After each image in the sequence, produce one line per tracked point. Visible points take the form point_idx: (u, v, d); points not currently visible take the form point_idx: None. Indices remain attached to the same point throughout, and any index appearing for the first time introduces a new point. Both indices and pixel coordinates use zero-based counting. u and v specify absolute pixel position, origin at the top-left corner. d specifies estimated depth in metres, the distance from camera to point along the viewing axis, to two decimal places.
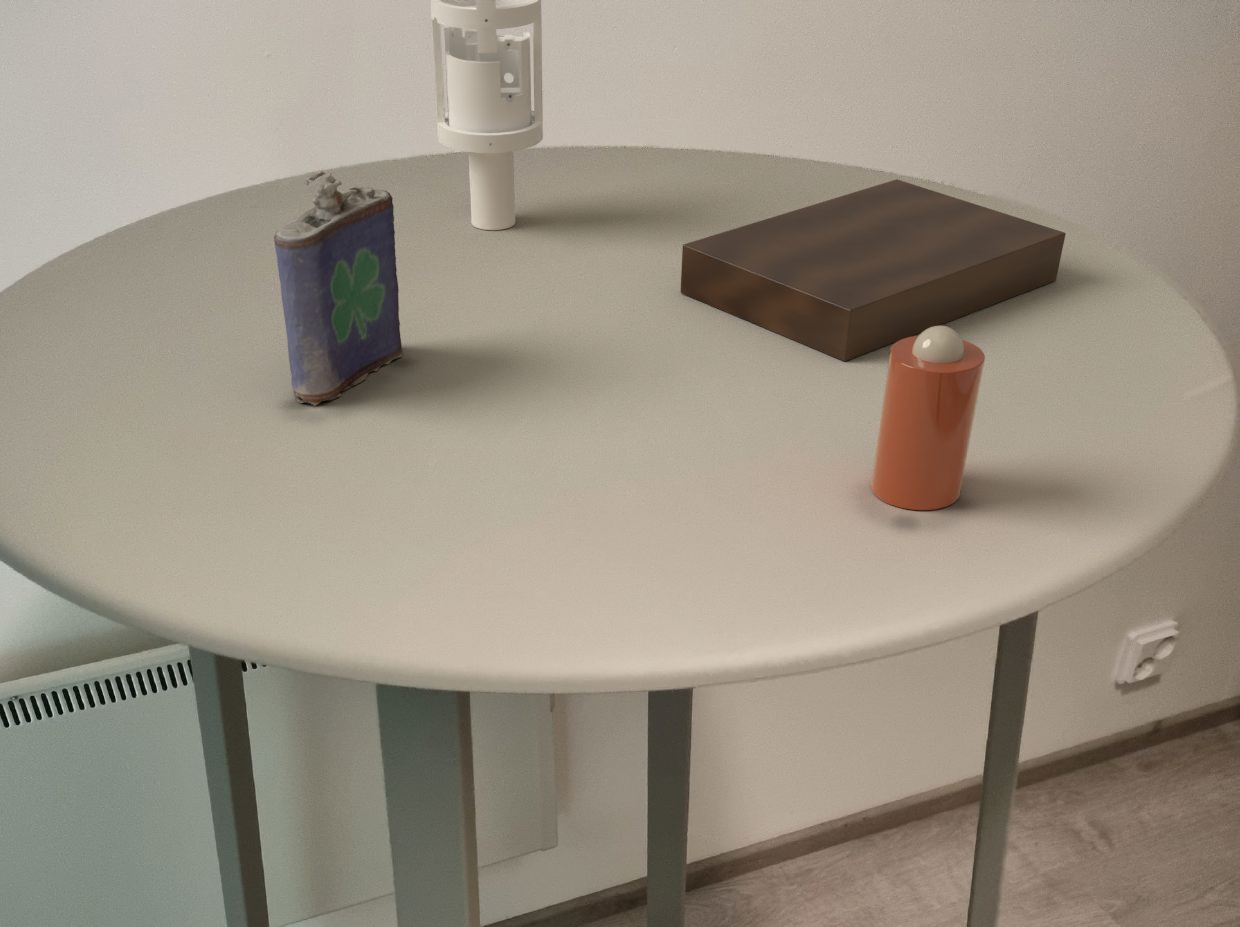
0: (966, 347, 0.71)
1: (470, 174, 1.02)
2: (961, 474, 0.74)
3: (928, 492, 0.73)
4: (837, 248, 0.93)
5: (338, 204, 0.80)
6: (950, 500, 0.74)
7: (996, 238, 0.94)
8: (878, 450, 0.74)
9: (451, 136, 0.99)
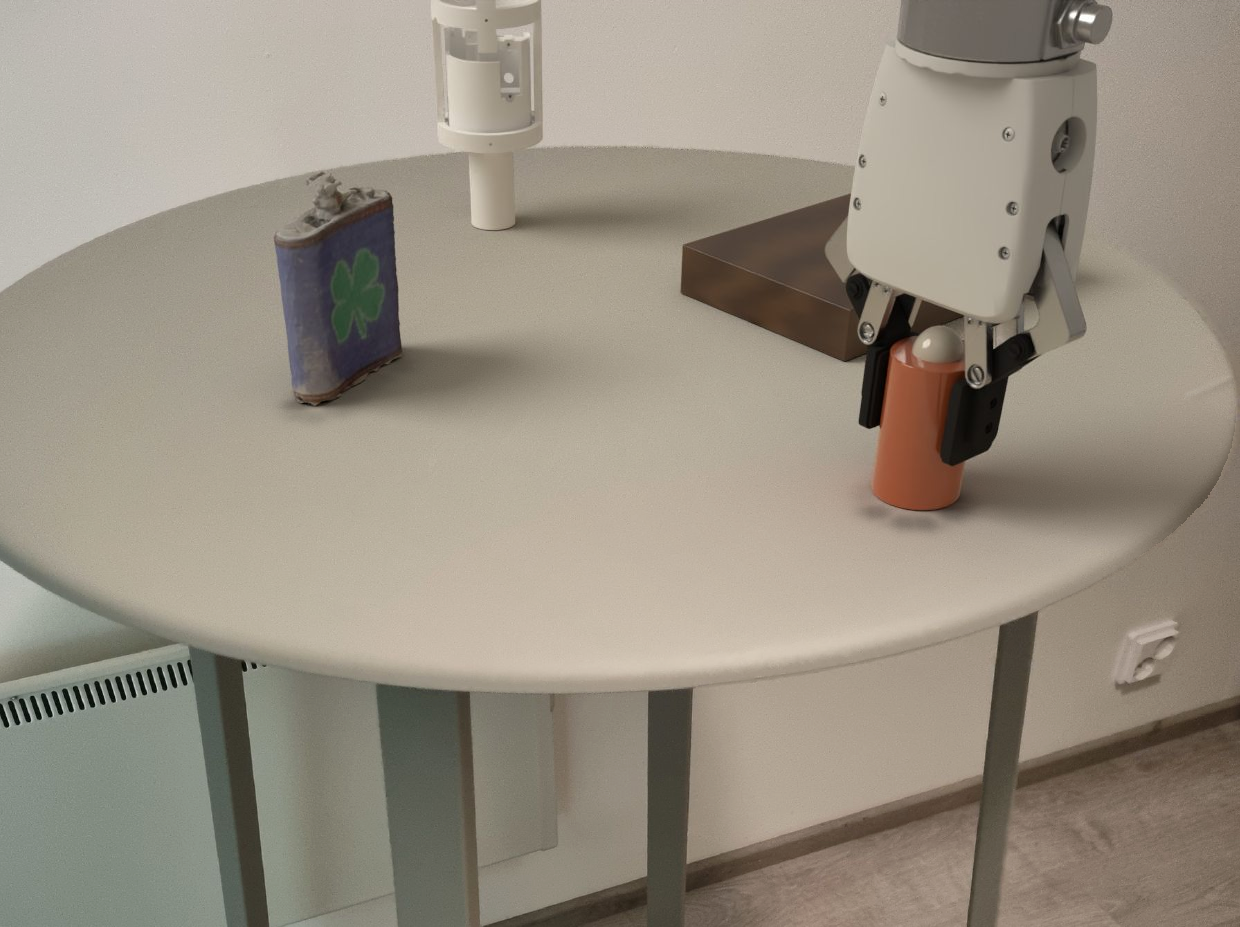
0: None
1: (470, 174, 1.02)
2: (961, 474, 0.74)
3: (928, 492, 0.73)
4: None
5: (338, 204, 0.80)
6: (950, 500, 0.74)
7: None
8: (878, 450, 0.74)
9: (451, 136, 0.99)
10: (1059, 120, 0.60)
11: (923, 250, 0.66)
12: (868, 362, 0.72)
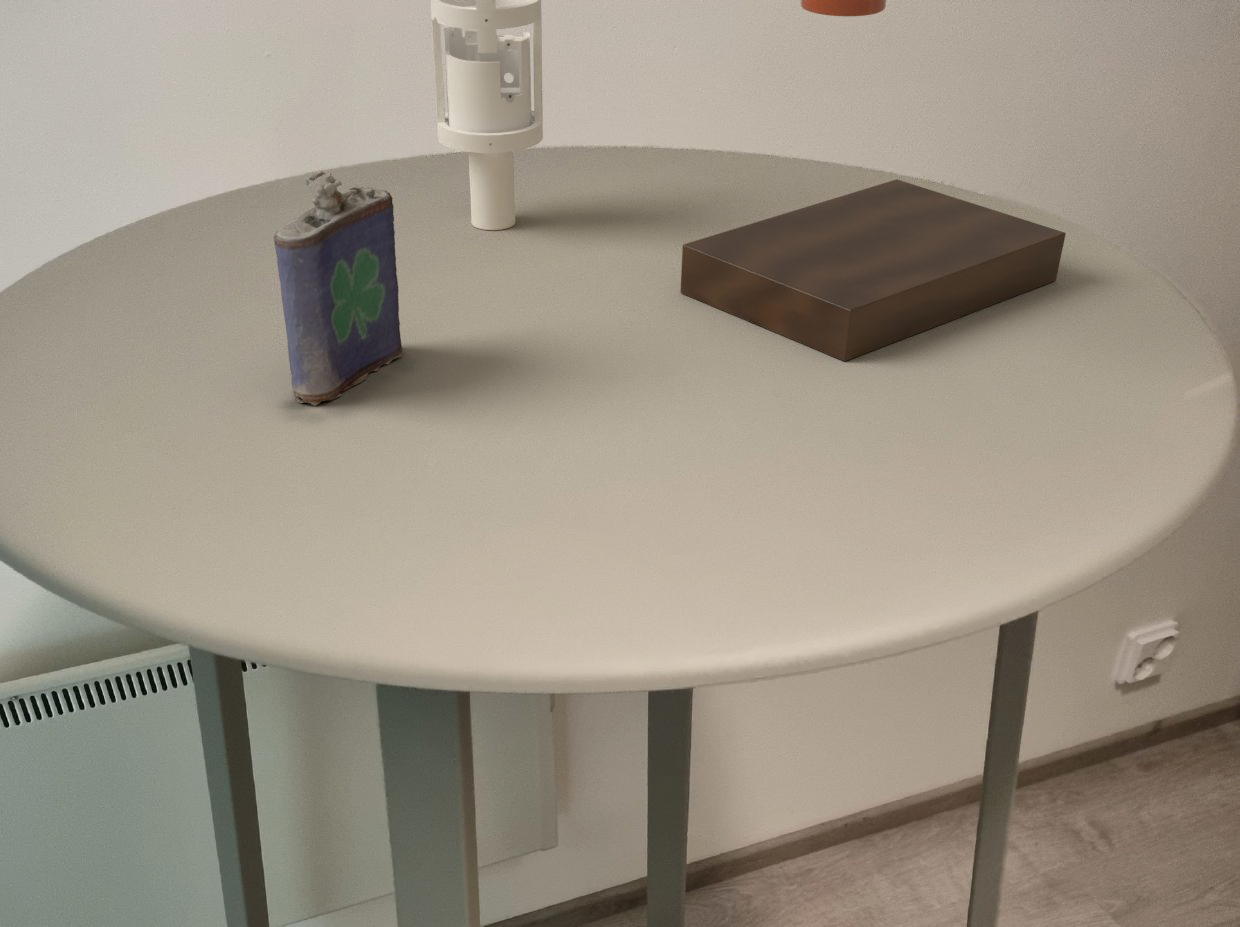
0: None
1: (470, 174, 1.02)
2: None
3: None
4: (837, 248, 0.93)
5: (338, 204, 0.80)
6: (875, 8, 0.77)
7: (996, 238, 0.94)
8: None
9: (451, 136, 0.99)
10: None
11: None
12: None
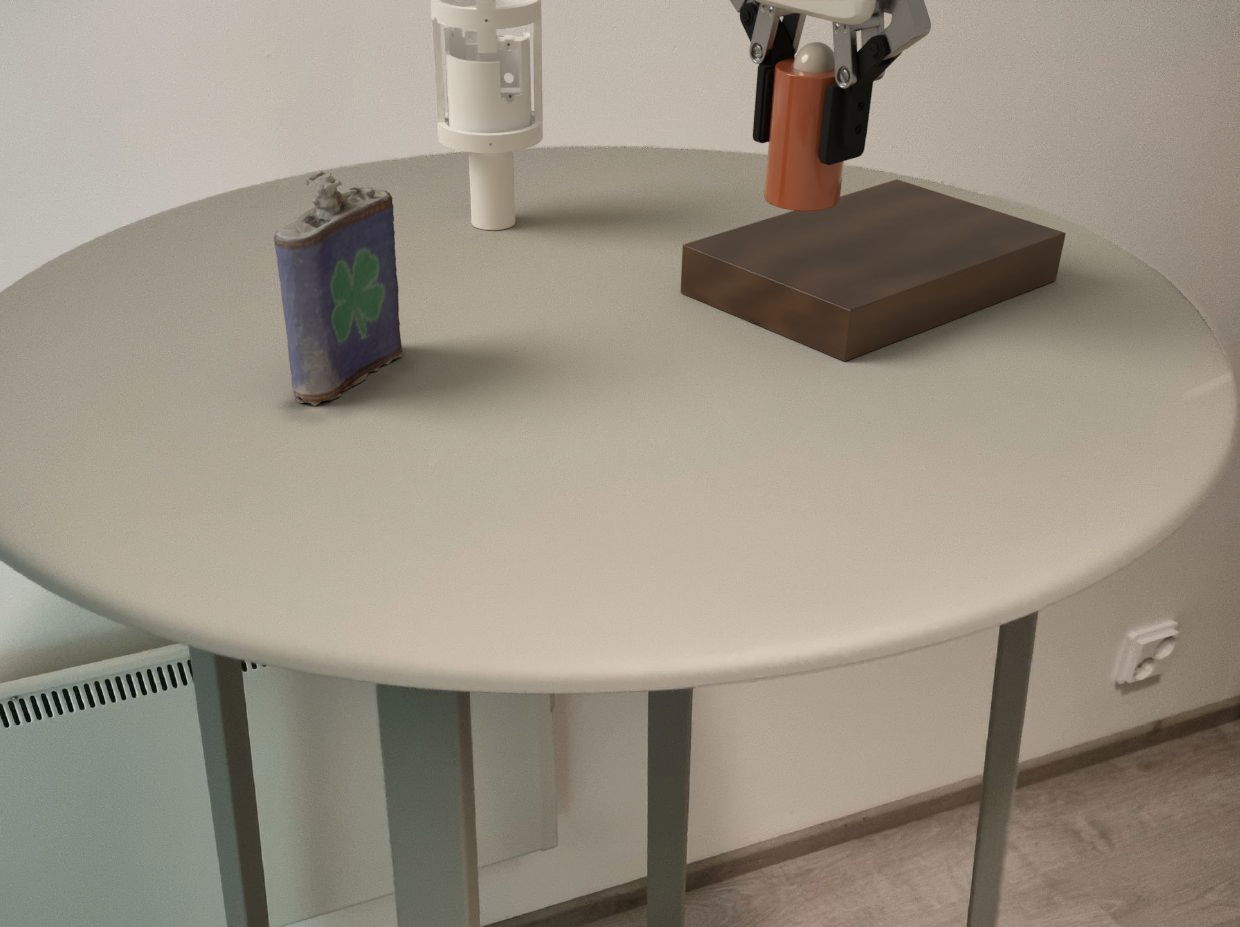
0: None
1: (470, 174, 1.02)
2: (838, 180, 0.86)
3: (810, 193, 0.86)
4: (837, 248, 0.93)
5: (338, 204, 0.80)
6: (829, 203, 0.87)
7: (996, 238, 0.94)
8: (768, 160, 0.87)
9: (451, 136, 0.99)
10: None
11: None
12: (758, 79, 0.85)
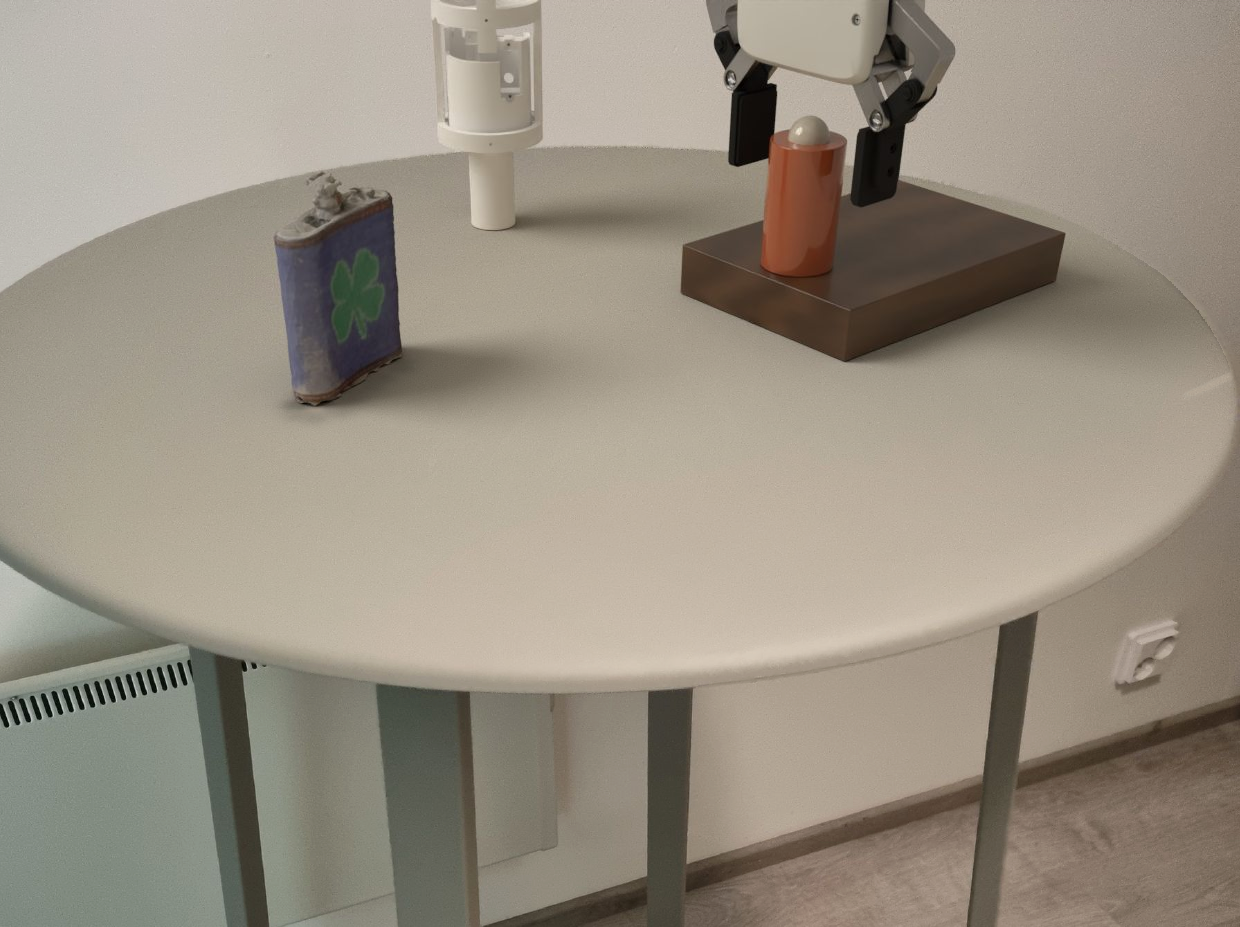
0: (833, 136, 0.86)
1: (470, 174, 1.02)
2: (832, 247, 0.89)
3: (804, 260, 0.88)
4: (837, 248, 0.93)
5: (338, 204, 0.80)
6: (824, 269, 0.89)
7: (996, 238, 0.94)
8: (764, 227, 0.89)
9: (451, 136, 0.99)
10: None
11: (795, 26, 0.81)
12: (732, 105, 0.87)
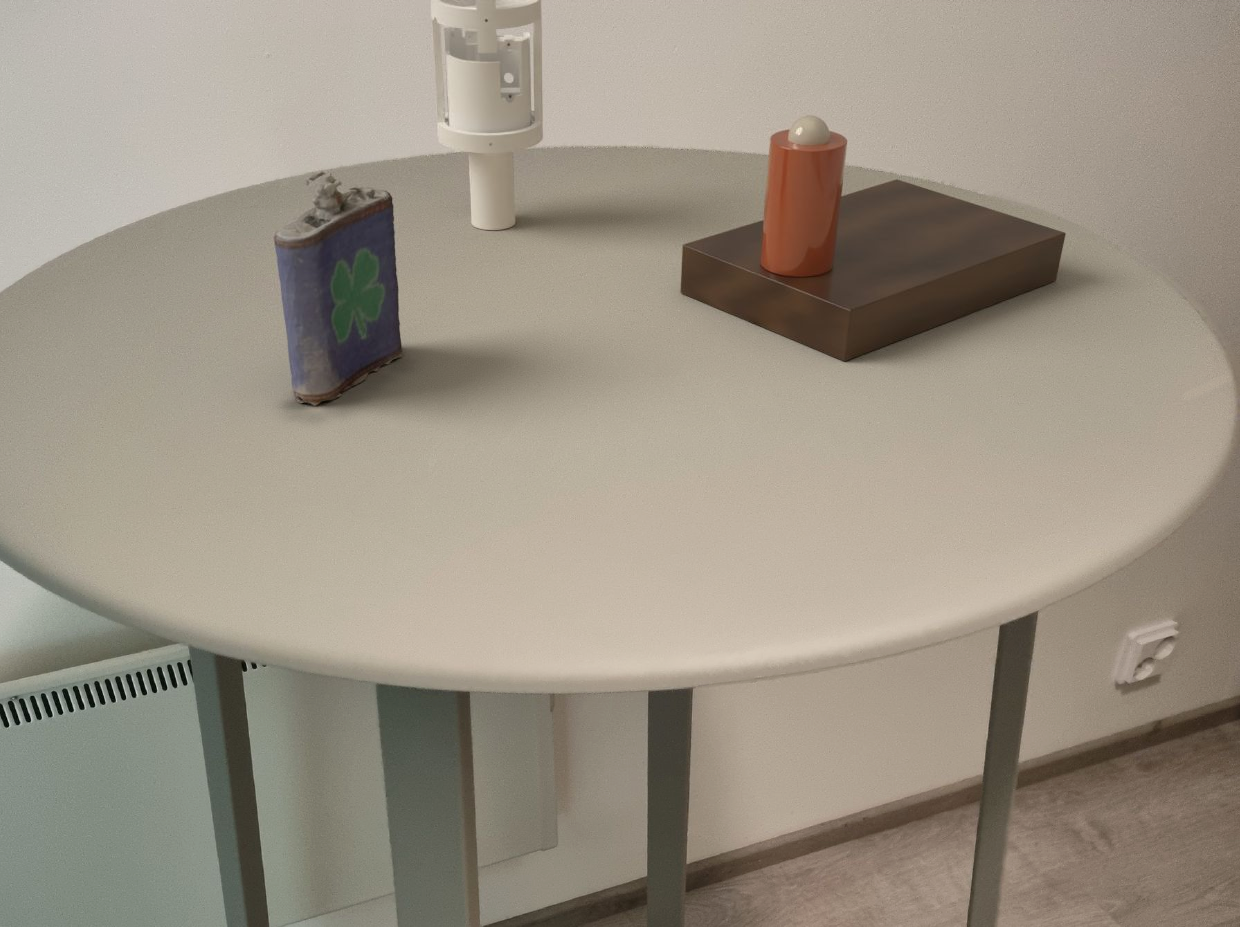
0: (833, 136, 0.86)
1: (470, 174, 1.02)
2: (832, 247, 0.89)
3: (804, 260, 0.88)
4: (837, 248, 0.93)
5: (338, 204, 0.80)
6: (824, 269, 0.89)
7: (996, 238, 0.94)
8: (764, 227, 0.89)
9: (451, 136, 0.99)
10: None
11: None
12: None
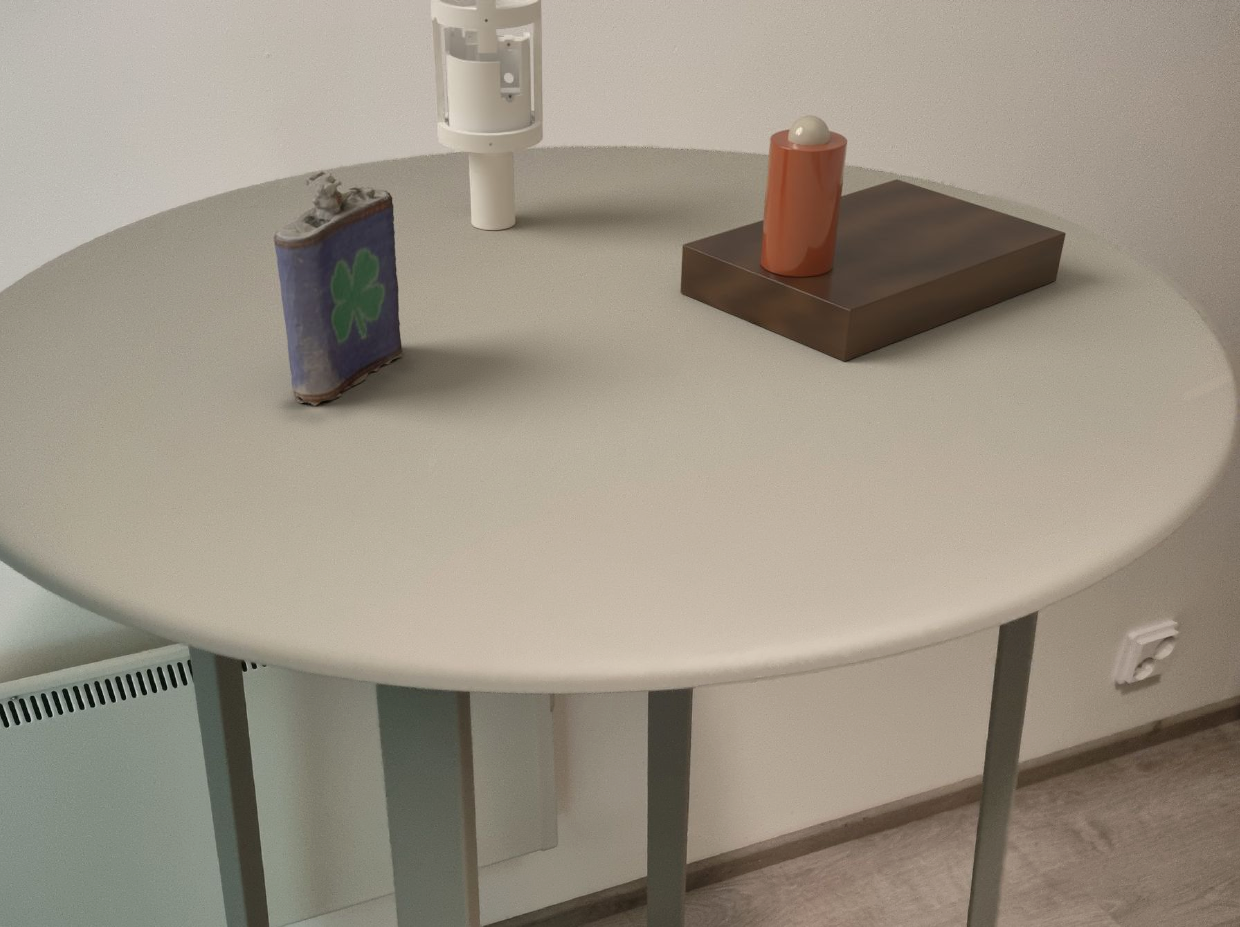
0: (833, 136, 0.86)
1: (470, 174, 1.02)
2: (832, 247, 0.89)
3: (804, 260, 0.88)
4: (837, 248, 0.93)
5: (338, 204, 0.80)
6: (824, 269, 0.89)
7: (996, 238, 0.94)
8: (764, 227, 0.89)
9: (451, 136, 0.99)
10: None
11: None
12: None
